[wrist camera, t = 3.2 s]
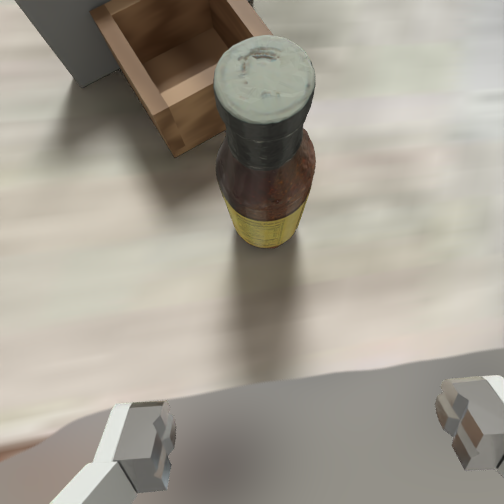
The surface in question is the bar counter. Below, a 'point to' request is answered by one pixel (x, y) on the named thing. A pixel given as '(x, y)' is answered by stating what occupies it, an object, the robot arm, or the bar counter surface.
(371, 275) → the bar counter surface
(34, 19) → the backstop wall
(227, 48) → the wooden box
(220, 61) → the sauce bottle
